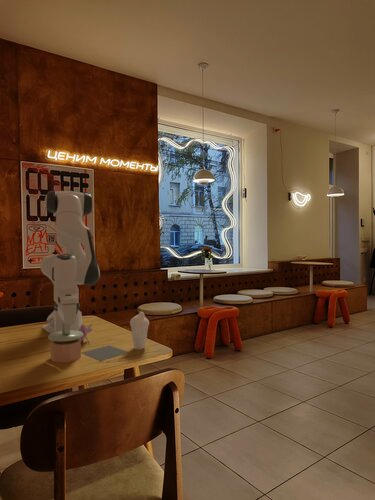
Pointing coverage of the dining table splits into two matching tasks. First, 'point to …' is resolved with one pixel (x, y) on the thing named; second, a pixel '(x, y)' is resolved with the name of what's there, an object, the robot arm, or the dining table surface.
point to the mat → (104, 352)
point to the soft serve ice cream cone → (139, 330)
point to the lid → (65, 335)
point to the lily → (85, 331)
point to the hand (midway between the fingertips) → (66, 331)
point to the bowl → (65, 350)
